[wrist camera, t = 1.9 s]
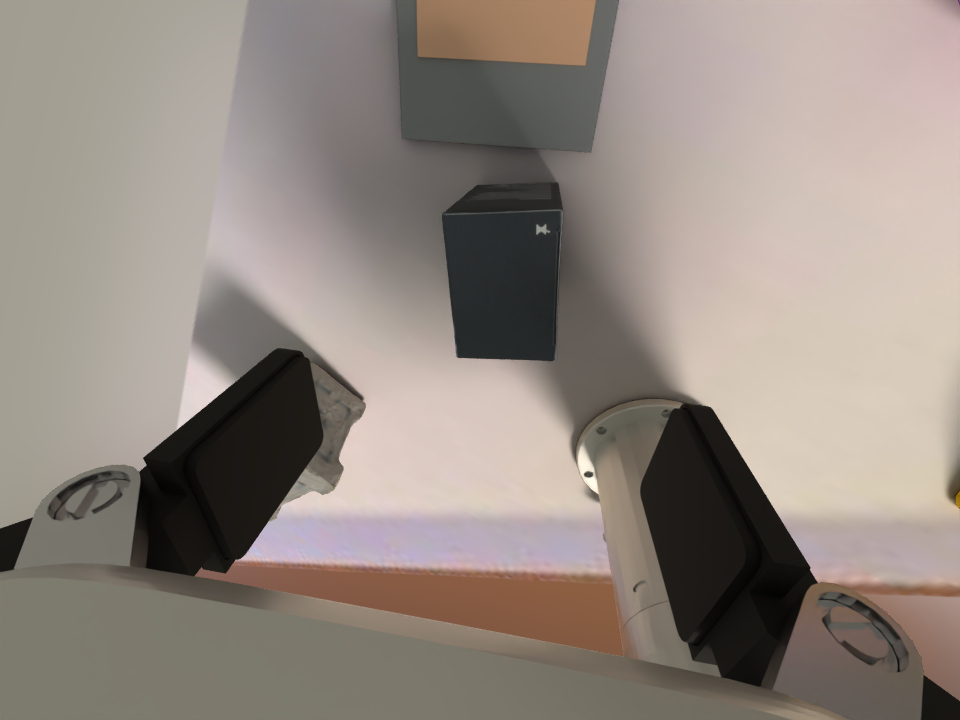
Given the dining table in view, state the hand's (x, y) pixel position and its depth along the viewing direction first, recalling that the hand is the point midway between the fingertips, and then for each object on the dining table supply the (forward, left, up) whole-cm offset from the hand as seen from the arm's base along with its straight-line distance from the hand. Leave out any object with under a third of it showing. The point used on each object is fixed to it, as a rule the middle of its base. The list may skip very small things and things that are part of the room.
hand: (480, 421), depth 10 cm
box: (0, 0, -21) cm, 21 cm away
